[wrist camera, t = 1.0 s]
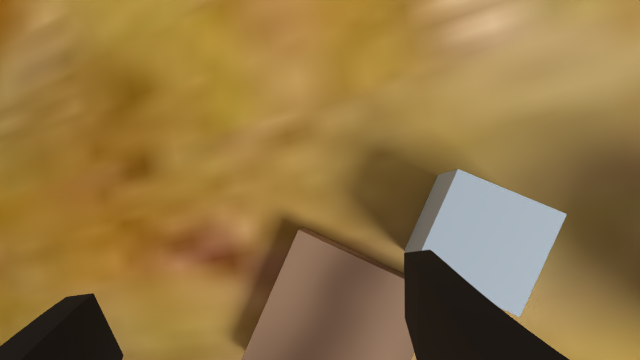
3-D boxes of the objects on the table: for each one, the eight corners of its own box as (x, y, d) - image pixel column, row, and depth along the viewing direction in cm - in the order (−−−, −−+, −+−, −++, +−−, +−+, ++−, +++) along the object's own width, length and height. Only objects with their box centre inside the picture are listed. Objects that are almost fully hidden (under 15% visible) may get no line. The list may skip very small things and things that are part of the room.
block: (519, 209, 20) (566, 214, 15) (484, 286, 20) (519, 317, 15) (437, 174, 21) (457, 169, 16) (404, 250, 21) (413, 268, 16)
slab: (433, 286, 21) (439, 295, 19) (375, 415, 21) (376, 437, 19) (305, 226, 22) (298, 229, 20) (251, 349, 22) (239, 364, 20)
